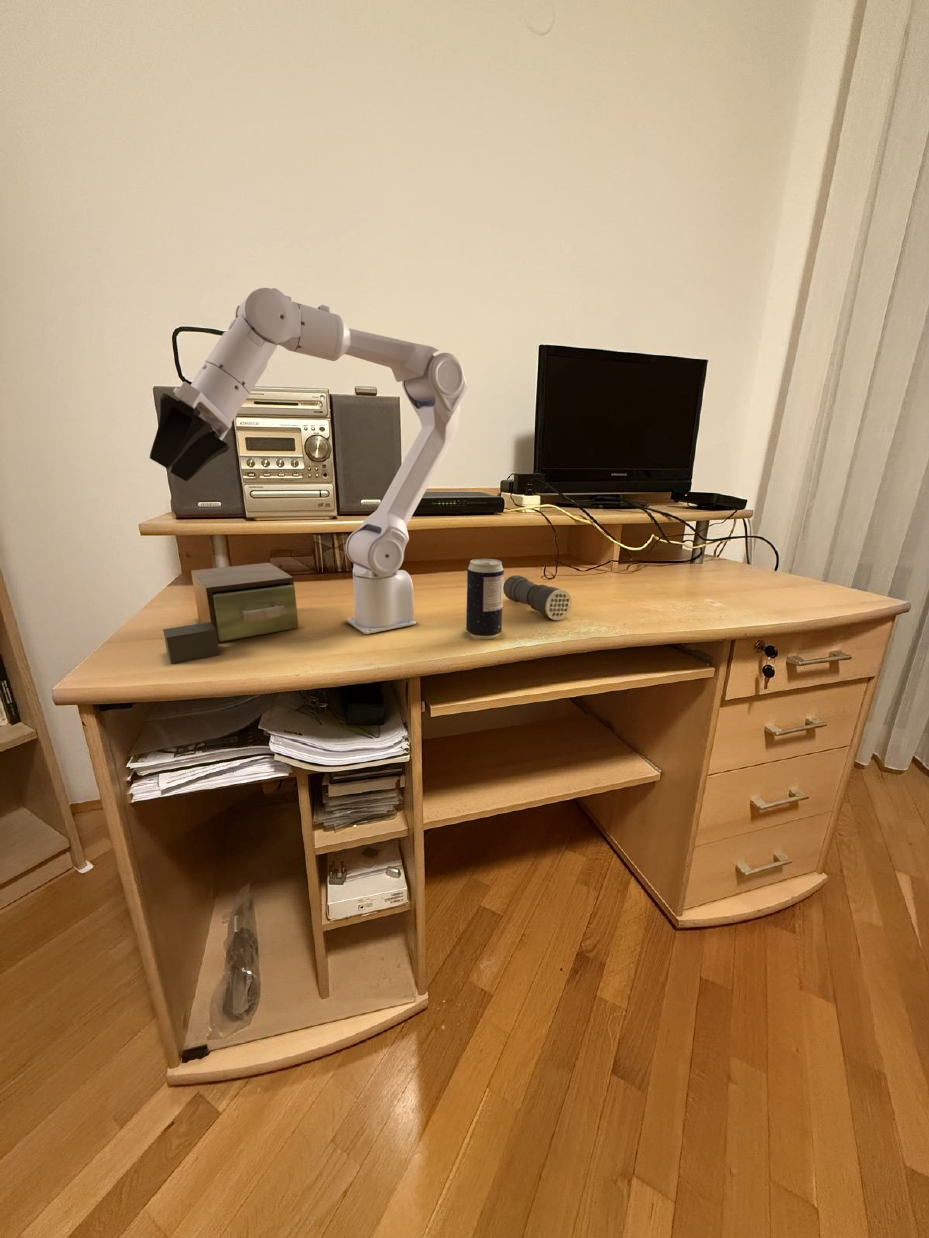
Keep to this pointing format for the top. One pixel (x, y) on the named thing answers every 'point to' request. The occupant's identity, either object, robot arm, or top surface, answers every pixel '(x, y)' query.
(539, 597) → the flashlight
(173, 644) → the charcoal rectangular block
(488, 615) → the beverage can
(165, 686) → the top surface
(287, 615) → the drawer
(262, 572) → the cabinet
